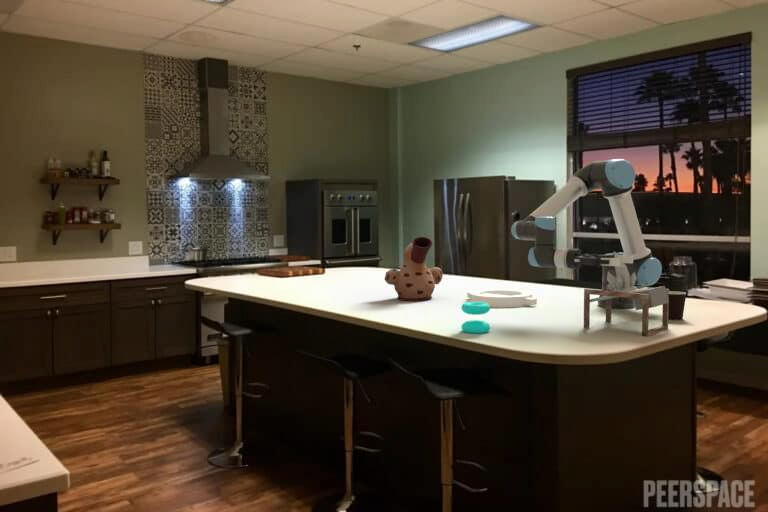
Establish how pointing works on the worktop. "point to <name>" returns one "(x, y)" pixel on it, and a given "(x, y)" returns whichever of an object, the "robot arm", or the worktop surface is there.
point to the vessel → (415, 273)
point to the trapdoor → (655, 299)
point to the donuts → (475, 325)
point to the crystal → (621, 278)
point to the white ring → (502, 297)
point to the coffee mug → (676, 305)
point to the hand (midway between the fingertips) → (626, 261)
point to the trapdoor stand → (628, 295)
